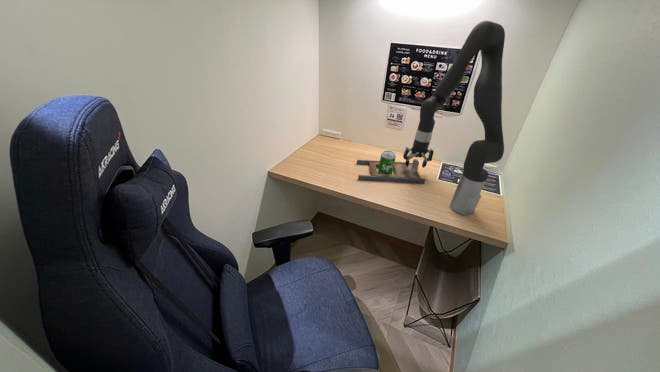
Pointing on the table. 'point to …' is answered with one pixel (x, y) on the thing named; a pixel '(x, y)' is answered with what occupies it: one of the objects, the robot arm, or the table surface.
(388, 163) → the soda can
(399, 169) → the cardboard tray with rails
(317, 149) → the table surface
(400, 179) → the lane rails
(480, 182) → the robot arm
